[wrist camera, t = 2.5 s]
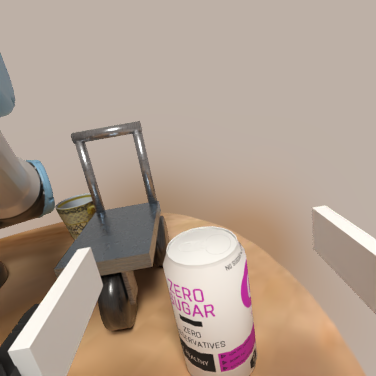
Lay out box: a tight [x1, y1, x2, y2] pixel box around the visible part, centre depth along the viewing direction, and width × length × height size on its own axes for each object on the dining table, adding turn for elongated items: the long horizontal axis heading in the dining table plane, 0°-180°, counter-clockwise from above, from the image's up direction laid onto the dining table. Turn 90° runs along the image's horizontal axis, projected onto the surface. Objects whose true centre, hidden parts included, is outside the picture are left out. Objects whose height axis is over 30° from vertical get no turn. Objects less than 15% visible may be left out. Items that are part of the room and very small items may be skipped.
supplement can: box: [163, 226, 257, 376], centre depth 28 cm, size 8×8×15 cm
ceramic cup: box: [56, 193, 96, 240], centre depth 64 cm, size 13×10×10 cm
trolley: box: [54, 121, 169, 331], centre depth 40 cm, size 22×12×26 cm, turn 3°
